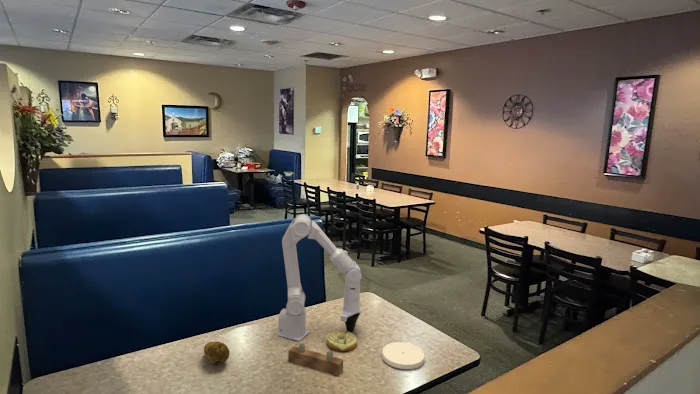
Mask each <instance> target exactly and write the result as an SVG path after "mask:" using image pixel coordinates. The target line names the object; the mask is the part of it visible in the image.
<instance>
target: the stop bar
mask: <svg viewBox="0 0 700 394" xmlns="http://www.w3.org/2000/svg"><path fill="white" fill-rule="evenodd" d="M287 354H288V357H287V358H288V362H289V363H291V364H295V365H298V366H301V367H305V368H309V369H312V370H316V371H319V372H322V373H326V374H329V375H333V376H337V377H340V376H341V374H342V373H343V371H344V359H342V358H339V357H334V351H330V350H329V351H327V352H326V354H323V353H320V352H316V351H313V350H310V349H306V344H304V343H299V344H298V346H295V345H293V346H292V347H291V348H289V350H288V353H287Z"/></svg>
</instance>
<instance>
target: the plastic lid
mask: <svg viewBox="0 0 700 394" xmlns="http://www.w3.org/2000/svg"><path fill="white" fill-rule="evenodd" d="M381 357H382V360H383V361H384V362H385V363H386V364H387V365H389V366H391V367H393V368H396V369H401V370H413V369H417V368H420V367H421V366H422V365H423V364H424V362H425V352H424V351H423V349H421V348H420V347H419V346H416V345H415V344H413V343H408V342H403V341H400V342H398V341H397V342H391V343H388V344H386V345H385V346H383V347H382V349H381Z"/></svg>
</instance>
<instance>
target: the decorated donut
mask: <svg viewBox="0 0 700 394" xmlns="http://www.w3.org/2000/svg"><path fill="white" fill-rule="evenodd" d="M325 339H326V343H327V345H328V347H329V348H330V349H332V350H334V351H337V352H350V351H353V350H354V349H355V348H356V346H357V343H358V338H357V335H355V334H354V333H351V332H349V331H347V330H346V329H345V330H344V329H343V330H342V329H336V330H332V331H331V332H329V333H327V335H326V337H325Z"/></svg>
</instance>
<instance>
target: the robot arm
mask: <svg viewBox="0 0 700 394" xmlns="http://www.w3.org/2000/svg"><path fill="white" fill-rule="evenodd" d="M306 237H307V239H309V240H315V241H316V242H317V243H318V244H319V245H320V246H321V247H322V248H323V249H324V250H325V251H326V253H328V254H329V260H330V262H332V263H333V265H334V266H335V268H337V269H338V270H339V271H340V272H341V273H342V274H344V279H345V280H344V281H345V282H344V288H343V307H342V313H341V315H340V322H343V323H344V324H345V328H346V329H345V330H346V331H349V332H351V333H352V334H354V332H355V327H356V325H357V321H358V319H359V317H360V316H361V313H362V312H363V309H361V306H362V302H361V301H360V297H361V280H362V278H363V276H362V272H361V271H362V270H361V268H360V266H359V264H358V263H357V262H356V261H355V260H353V259H352V258H351V257H350V256H349V255H348V253H349V252H348V250H344V249H342V248H337V246H335V244H334V243H333V241H331V239H330V238H329V237H328V236H327V234H325V232H324V231H323V230H322V228H321V227H320V226H319V225H318V224H317V223H316V221H315V220H312V218H311V217H310V216H309V215H308V214H305V213H302V214H298V215H297V216H296V217H295V218H294V219H292V220H291V223H290V224H289V226H288V227H287V229H286V231H285V233H284V235H283V237H282V238H281V239H282V240H281V246H282V251H283V252H282V253H283V260H284V268H285V276H286V285H287V303H286V305H285V306H286V307H285V308H282V309H281V310H280V311H279V315H278V321H277V322H278V324H277V325H278V326H277V327H278V332H277V334H276V335H277V336H279V337H282V338H285V339H289V340H294V341H297V342H300V341H302V340H303V339H304V338H305V337H306V336H308V334H309V333H310V332H311V331H310V330H308V329H306V323H307V322H306V321H307V320H306V319H307V318H306V315H307V309H306V307H305V303H306V302H305V301H306V294H305V292H304V290H303V287H302V284H301V275H300V269H299V268H300V267H299V260H298V251H297V244H298V242H299V241H301V240H302V239H303V238H306Z"/></svg>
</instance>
